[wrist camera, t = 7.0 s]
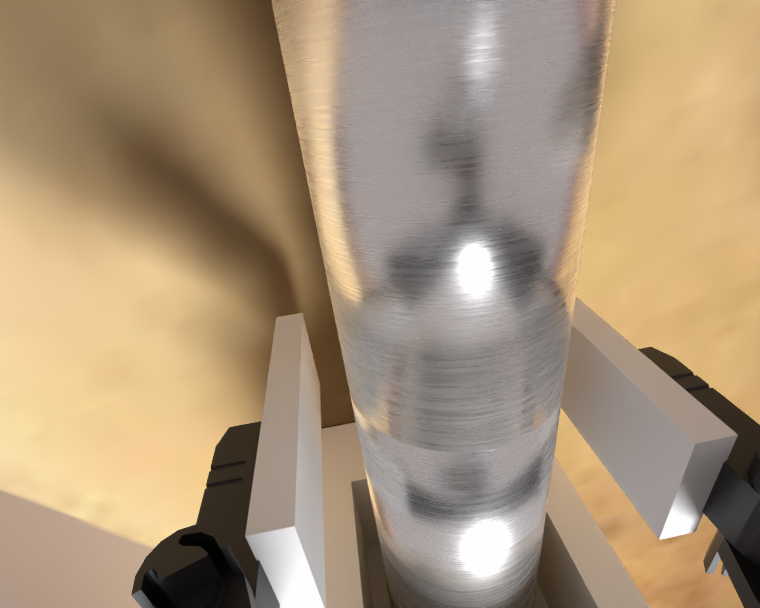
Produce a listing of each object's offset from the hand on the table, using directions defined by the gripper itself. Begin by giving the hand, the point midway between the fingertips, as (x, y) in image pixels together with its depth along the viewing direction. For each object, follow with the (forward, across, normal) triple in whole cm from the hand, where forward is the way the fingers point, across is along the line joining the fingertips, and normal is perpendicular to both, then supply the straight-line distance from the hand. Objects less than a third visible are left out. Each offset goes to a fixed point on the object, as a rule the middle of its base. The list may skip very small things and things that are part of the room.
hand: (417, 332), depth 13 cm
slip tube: (-1, 0, +5) cm, 5 cm away
